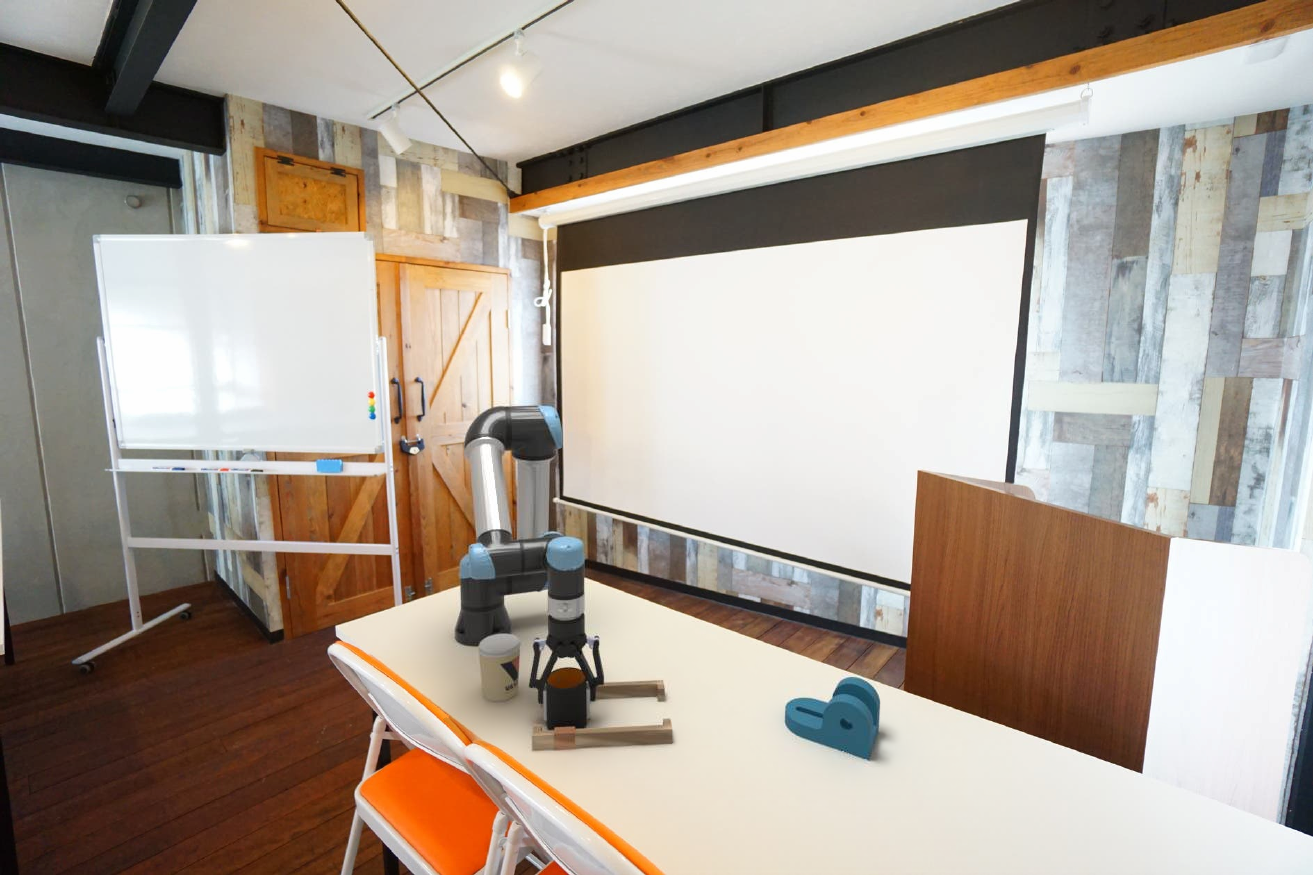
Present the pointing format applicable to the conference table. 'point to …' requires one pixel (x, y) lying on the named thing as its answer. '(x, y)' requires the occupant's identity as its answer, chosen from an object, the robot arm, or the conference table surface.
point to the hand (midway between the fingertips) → (567, 715)
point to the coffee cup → (499, 666)
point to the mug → (566, 698)
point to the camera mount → (839, 718)
